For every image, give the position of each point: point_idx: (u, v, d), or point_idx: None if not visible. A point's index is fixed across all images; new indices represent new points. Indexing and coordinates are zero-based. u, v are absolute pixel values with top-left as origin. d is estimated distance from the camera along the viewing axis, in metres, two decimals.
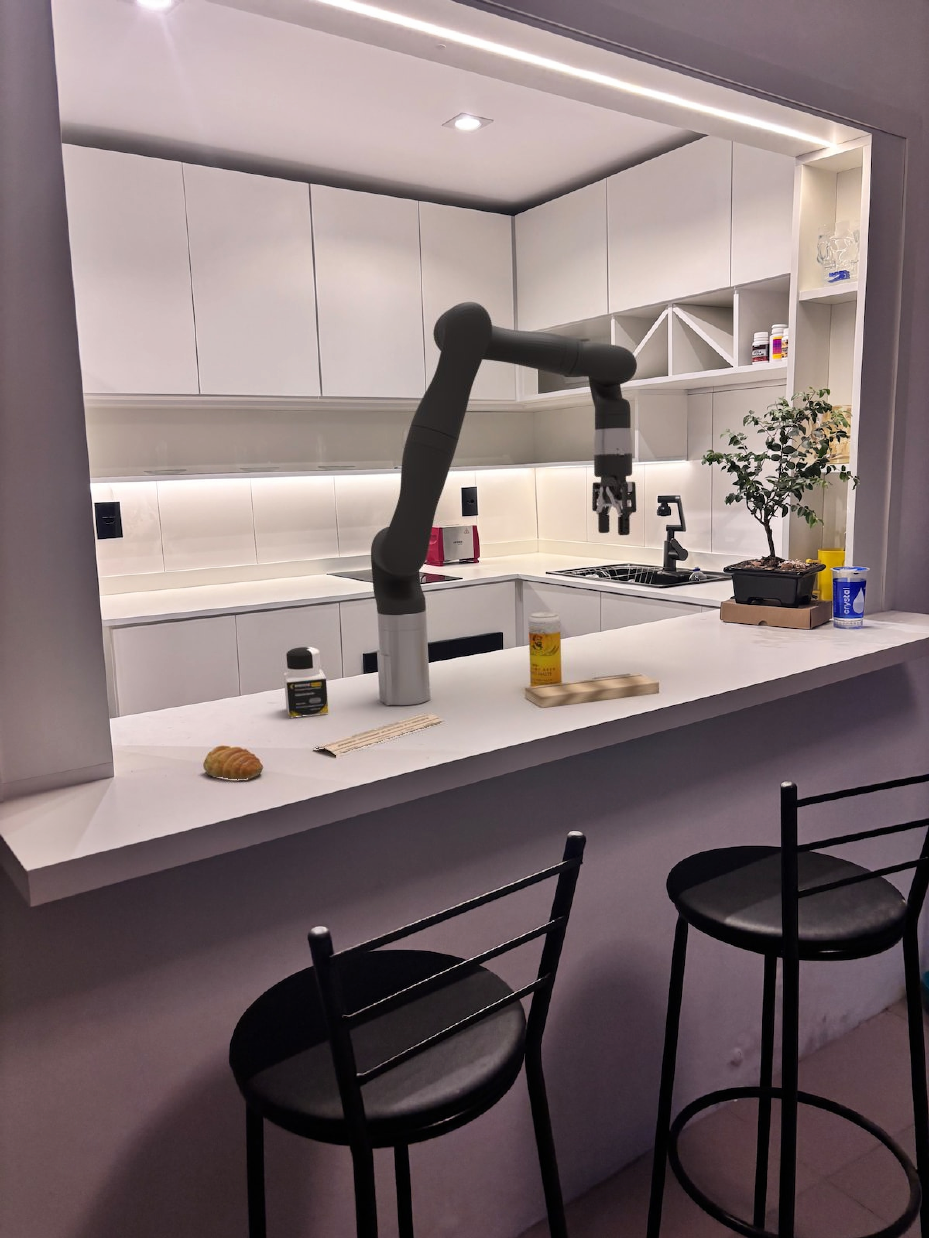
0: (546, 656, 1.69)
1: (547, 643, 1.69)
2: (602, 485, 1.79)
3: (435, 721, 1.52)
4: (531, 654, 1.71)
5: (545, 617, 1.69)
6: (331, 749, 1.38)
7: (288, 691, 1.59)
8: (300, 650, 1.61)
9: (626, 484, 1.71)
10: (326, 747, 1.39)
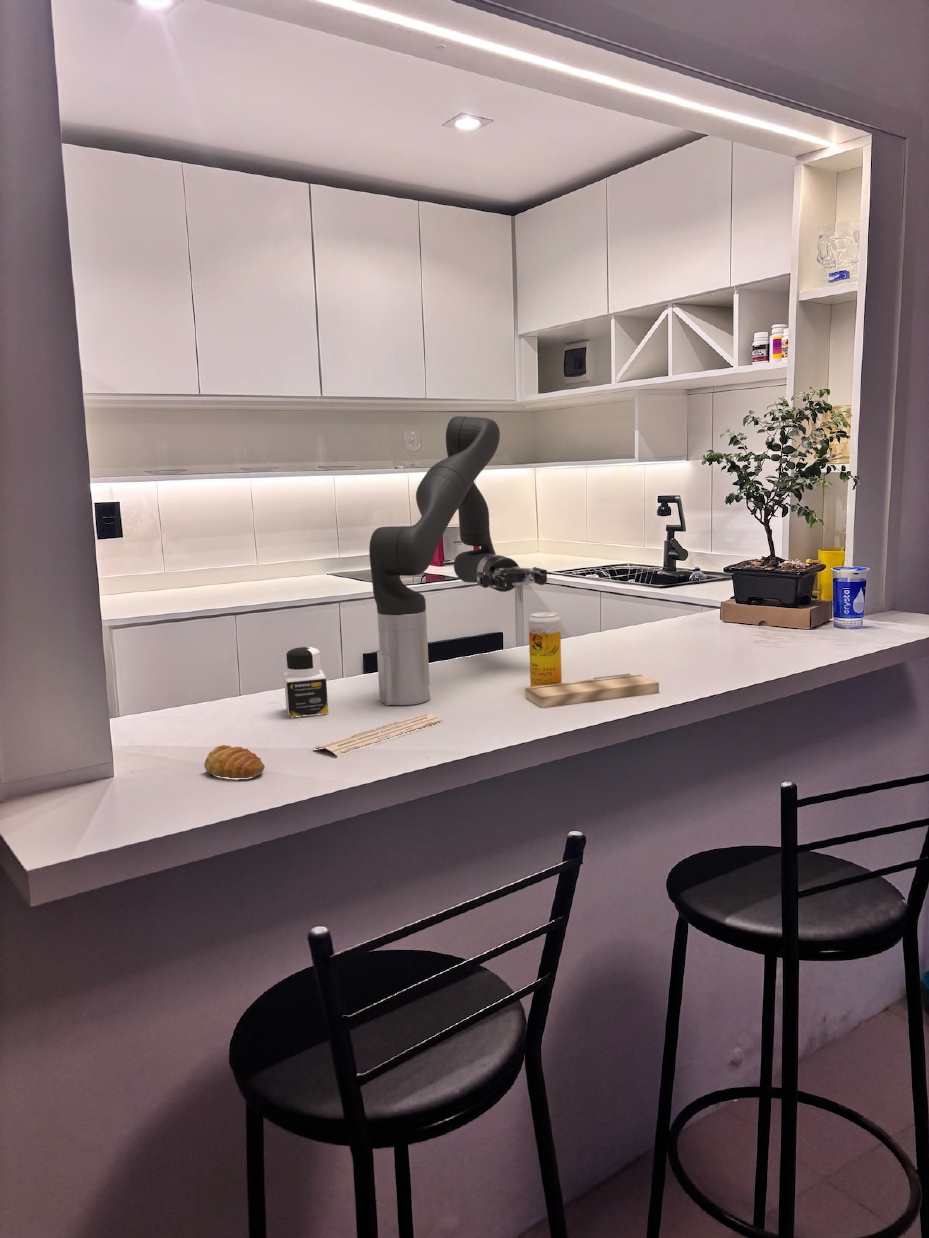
0: (546, 656, 1.69)
1: (547, 643, 1.69)
2: None
3: (434, 721, 1.53)
4: (531, 654, 1.71)
5: (545, 617, 1.69)
6: (331, 749, 1.38)
7: (288, 691, 1.59)
8: (300, 650, 1.61)
9: None
10: (326, 747, 1.39)
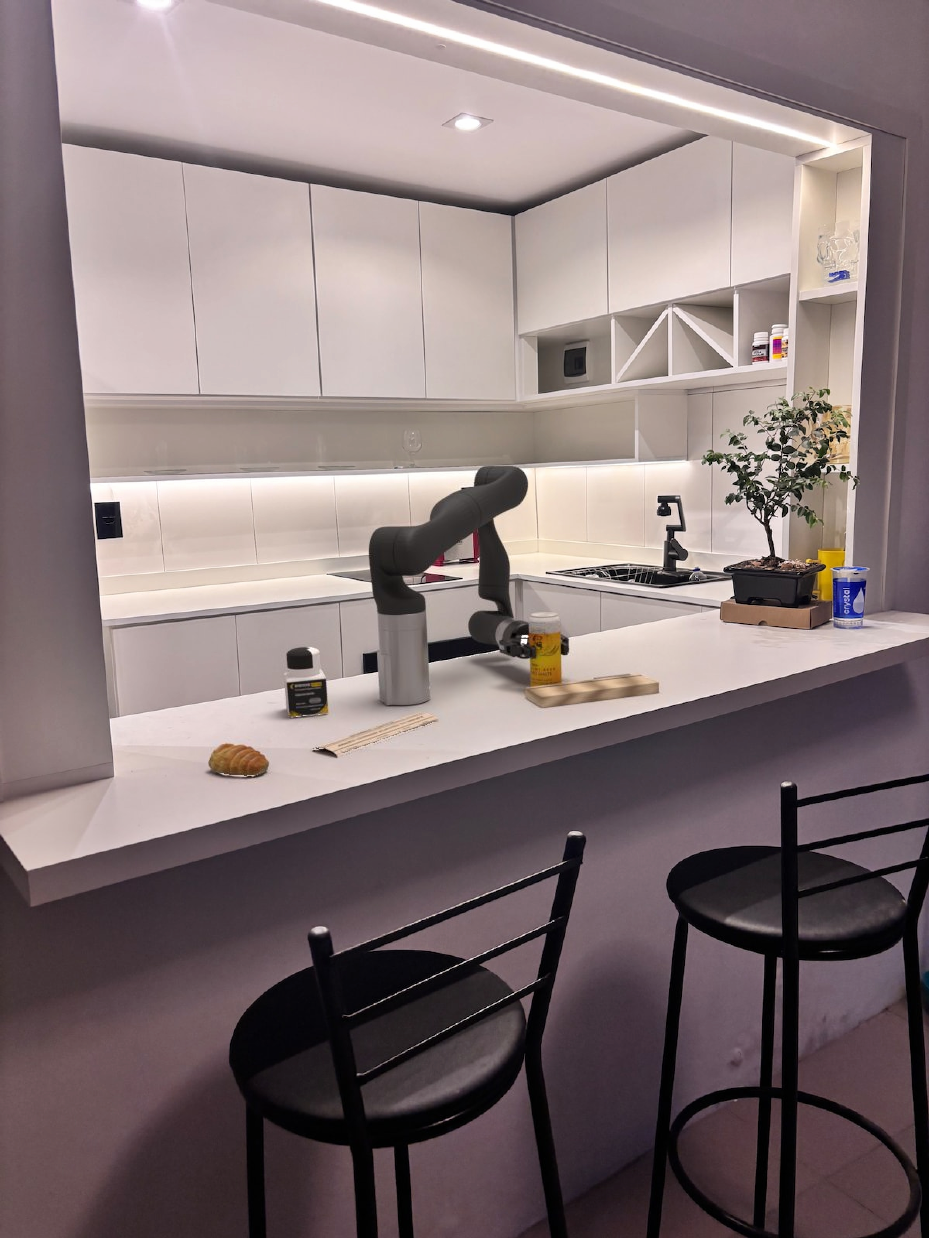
0: (547, 656, 1.69)
1: (547, 643, 1.69)
2: (517, 638, 1.79)
3: (430, 720, 1.53)
4: None
5: (545, 617, 1.68)
6: (332, 749, 1.38)
7: (288, 691, 1.59)
8: (300, 650, 1.61)
9: None
10: (327, 747, 1.39)
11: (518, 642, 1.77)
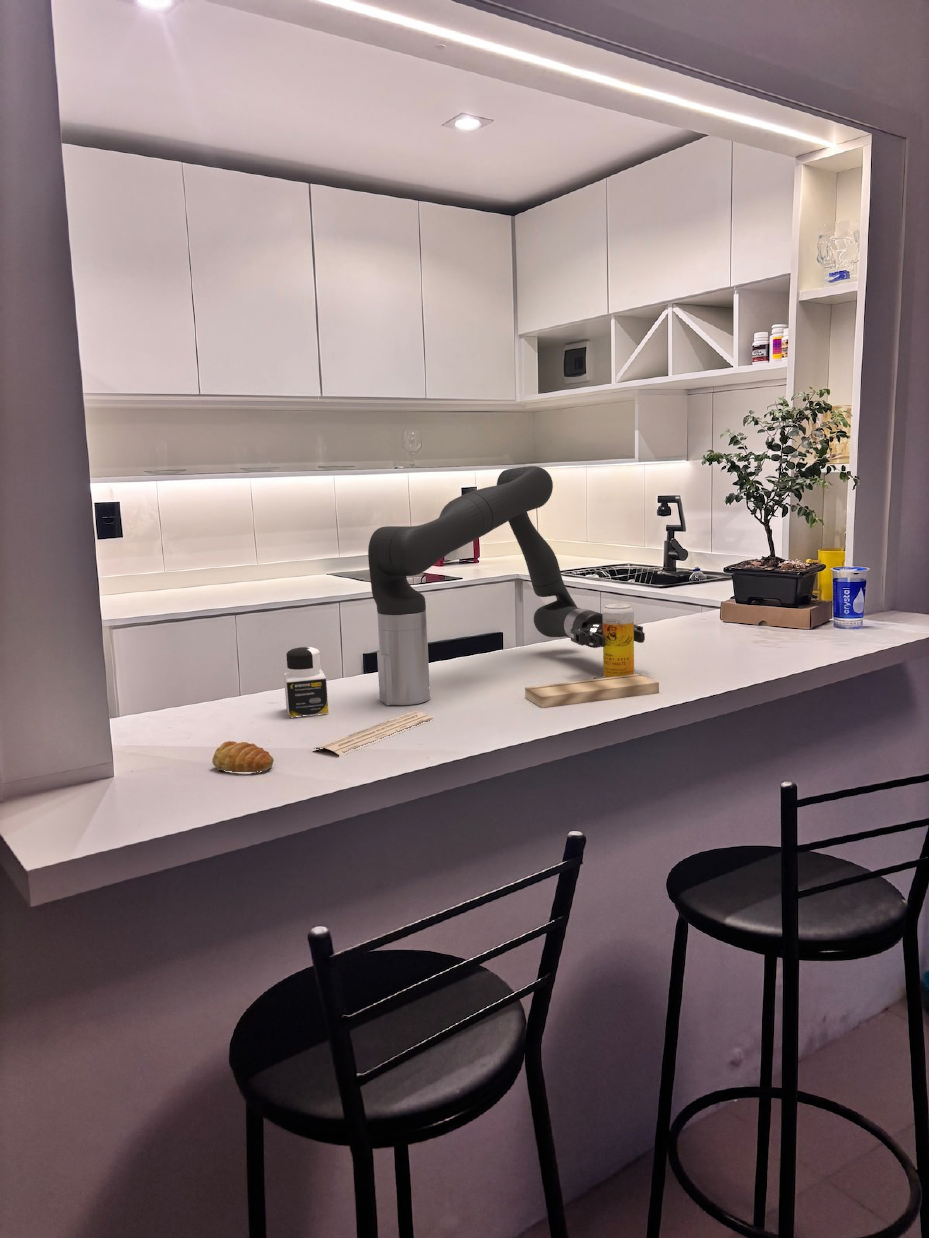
0: (621, 646, 1.74)
1: (622, 633, 1.74)
2: (589, 628, 1.83)
3: (425, 719, 1.54)
4: (605, 644, 1.76)
5: (620, 608, 1.73)
6: (333, 749, 1.38)
7: (288, 691, 1.59)
8: (300, 650, 1.61)
9: None
10: (327, 747, 1.39)
11: (589, 631, 1.81)
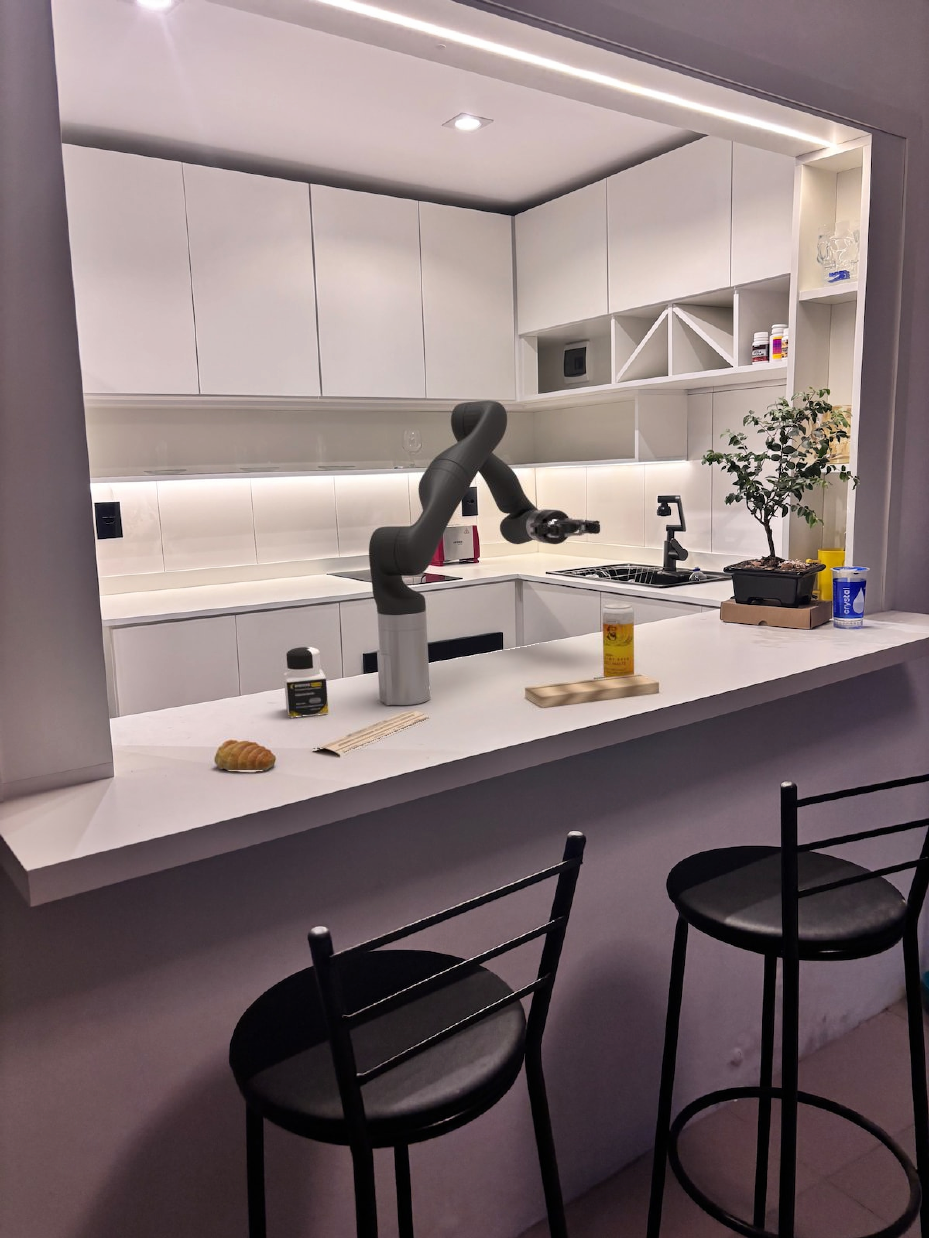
0: (621, 646, 1.74)
1: (622, 633, 1.74)
2: (548, 523, 1.91)
3: (422, 718, 1.55)
4: (605, 644, 1.76)
5: (620, 608, 1.73)
6: (333, 749, 1.38)
7: (288, 691, 1.59)
8: (300, 650, 1.61)
9: None
10: (327, 747, 1.39)
11: None
